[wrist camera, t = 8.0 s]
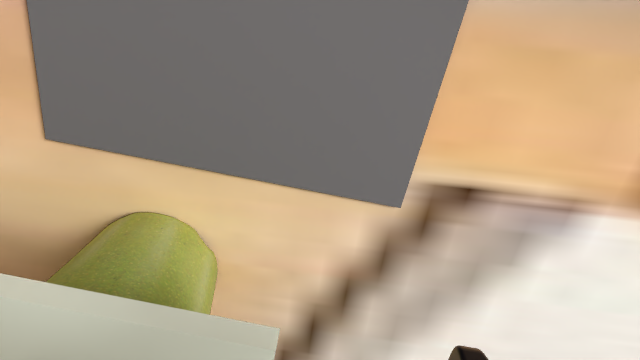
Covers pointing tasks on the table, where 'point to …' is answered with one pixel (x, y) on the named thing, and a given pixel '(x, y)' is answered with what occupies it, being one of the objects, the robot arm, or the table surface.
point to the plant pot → (146, 263)
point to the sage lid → (117, 328)
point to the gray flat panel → (250, 85)
